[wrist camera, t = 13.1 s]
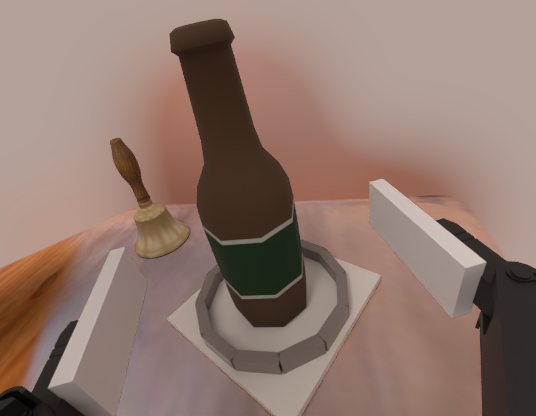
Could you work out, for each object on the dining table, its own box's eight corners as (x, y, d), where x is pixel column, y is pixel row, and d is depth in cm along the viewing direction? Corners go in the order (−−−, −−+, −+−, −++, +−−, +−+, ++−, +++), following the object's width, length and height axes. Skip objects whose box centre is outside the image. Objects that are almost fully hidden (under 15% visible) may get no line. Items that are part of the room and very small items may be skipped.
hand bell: (169, 218, 48) (126, 126, 39) (200, 230, 43) (159, 129, 34) (126, 248, 43) (65, 151, 34) (155, 266, 38) (93, 158, 29)
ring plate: (169, 323, 30) (160, 309, 28) (265, 235, 39) (261, 222, 38) (291, 432, 20) (286, 419, 19) (380, 280, 29) (381, 264, 28)
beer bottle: (321, 279, 30) (288, 3, 17) (290, 345, 24) (206, 15, 11) (259, 263, 33) (192, 28, 20) (221, 316, 28) (98, 45, 15)
